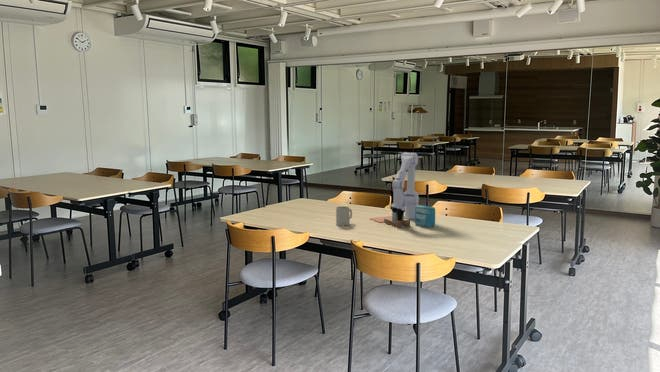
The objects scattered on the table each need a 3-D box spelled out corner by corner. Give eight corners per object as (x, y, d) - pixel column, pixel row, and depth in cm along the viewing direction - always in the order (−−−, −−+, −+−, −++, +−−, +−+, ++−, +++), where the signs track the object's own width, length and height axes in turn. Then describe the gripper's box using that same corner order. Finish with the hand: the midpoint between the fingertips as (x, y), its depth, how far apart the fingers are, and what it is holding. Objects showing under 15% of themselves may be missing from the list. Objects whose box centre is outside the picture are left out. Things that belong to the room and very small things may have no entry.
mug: (342, 226, 325) (342, 209, 323) (333, 224, 331) (333, 207, 330) (356, 223, 333) (356, 206, 331) (347, 221, 339) (347, 205, 338)
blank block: (400, 222, 330) (400, 211, 329) (403, 223, 326) (403, 212, 325) (392, 223, 328) (392, 212, 327) (395, 224, 324) (395, 213, 323)
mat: (391, 216, 352) (391, 216, 352) (400, 220, 340) (400, 219, 340) (369, 219, 346) (369, 218, 346) (378, 222, 334) (378, 222, 334)
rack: (397, 221, 338) (397, 215, 337) (410, 226, 323) (410, 220, 322) (384, 222, 334) (384, 216, 334) (396, 227, 319) (396, 221, 319)
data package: (414, 225, 326) (414, 206, 325) (418, 223, 330) (418, 205, 328) (431, 227, 319) (431, 208, 317) (435, 226, 322) (435, 207, 320)
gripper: (386, 197, 330) (386, 218, 332) (398, 200, 317) (398, 222, 319) (396, 196, 333) (396, 217, 335) (408, 200, 319) (408, 221, 321)
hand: (398, 220), depth 327 cm, fingers closed on blank block, 4 cm apart
